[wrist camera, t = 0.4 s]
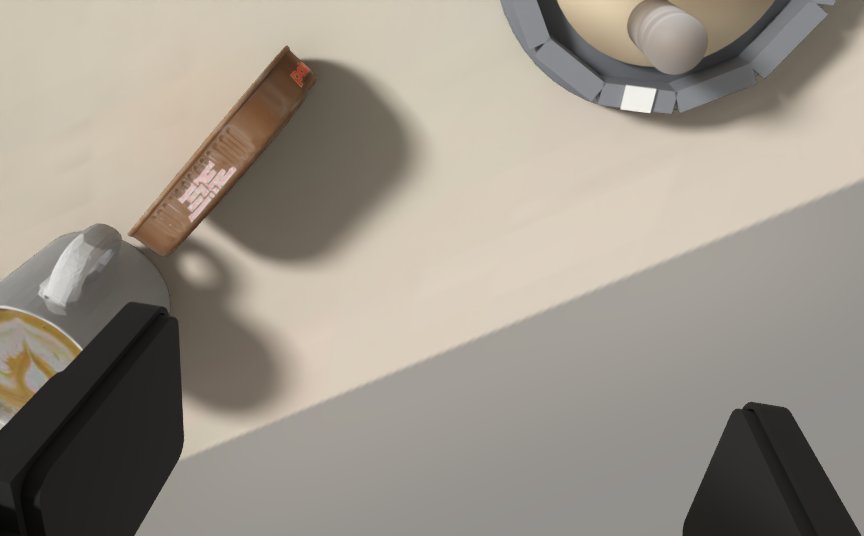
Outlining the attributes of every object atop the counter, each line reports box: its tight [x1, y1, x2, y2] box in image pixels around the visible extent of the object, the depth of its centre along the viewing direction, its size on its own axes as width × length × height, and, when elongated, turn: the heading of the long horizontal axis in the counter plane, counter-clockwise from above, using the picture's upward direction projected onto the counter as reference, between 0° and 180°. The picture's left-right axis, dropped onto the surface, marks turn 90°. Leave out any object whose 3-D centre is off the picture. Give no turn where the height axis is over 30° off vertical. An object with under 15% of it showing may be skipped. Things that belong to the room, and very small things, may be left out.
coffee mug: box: [0, 224, 170, 425], centre depth 46 cm, size 13×10×10 cm
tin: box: [128, 46, 316, 257], centre depth 40 cm, size 15×3×8 cm, turn 136°
